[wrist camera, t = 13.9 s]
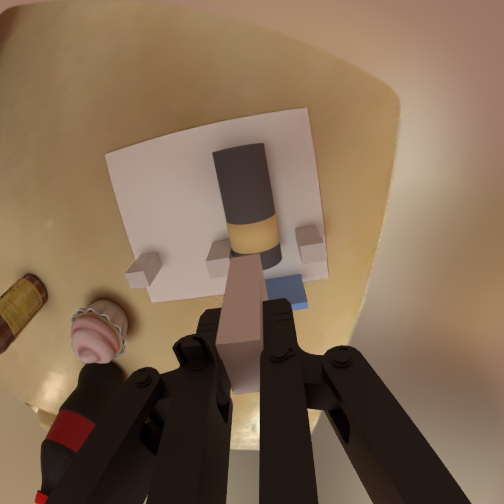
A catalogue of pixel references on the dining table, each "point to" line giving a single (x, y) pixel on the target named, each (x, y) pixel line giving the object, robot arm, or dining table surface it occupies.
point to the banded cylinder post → (248, 202)
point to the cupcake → (99, 332)
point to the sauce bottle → (19, 308)
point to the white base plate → (217, 207)
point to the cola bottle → (77, 421)
